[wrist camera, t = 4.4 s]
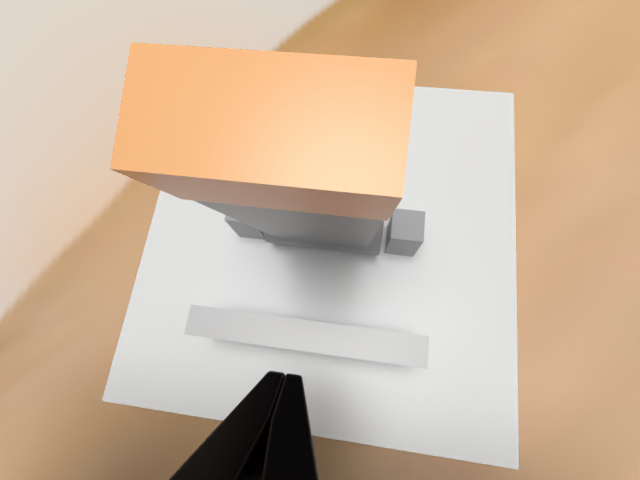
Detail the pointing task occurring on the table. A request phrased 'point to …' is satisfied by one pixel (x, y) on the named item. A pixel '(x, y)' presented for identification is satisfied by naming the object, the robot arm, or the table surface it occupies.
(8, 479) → the table surface
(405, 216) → the switch plate
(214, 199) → the lever
